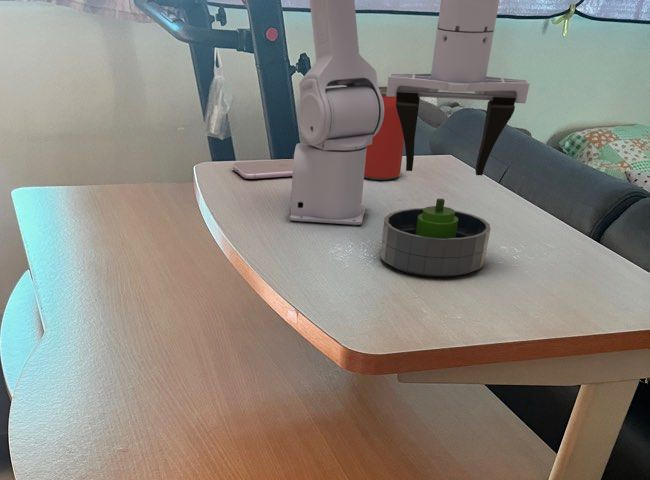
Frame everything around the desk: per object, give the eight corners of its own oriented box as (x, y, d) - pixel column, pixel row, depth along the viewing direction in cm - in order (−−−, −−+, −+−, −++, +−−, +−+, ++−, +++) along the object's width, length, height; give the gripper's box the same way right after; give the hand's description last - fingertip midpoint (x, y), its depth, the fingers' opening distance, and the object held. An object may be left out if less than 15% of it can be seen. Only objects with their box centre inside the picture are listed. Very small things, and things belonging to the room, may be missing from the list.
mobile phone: (230, 161, 131) (318, 155, 135) (230, 168, 132) (317, 162, 135) (245, 173, 125) (336, 167, 129) (245, 180, 126) (336, 173, 130)
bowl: (377, 275, 94) (382, 235, 91) (382, 242, 103) (386, 205, 101) (485, 283, 92) (493, 242, 90) (480, 249, 102) (487, 211, 99)
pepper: (412, 262, 96) (420, 203, 92) (412, 250, 100) (420, 192, 96) (452, 265, 95) (462, 206, 91) (451, 253, 99) (460, 195, 95)
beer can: (358, 169, 133) (365, 85, 125) (399, 171, 132) (409, 86, 125) (356, 180, 127) (364, 92, 120) (400, 182, 127) (410, 94, 119)
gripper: (392, 31, 82) (376, 175, 91) (542, 36, 80) (512, 184, 89) (394, 23, 88) (380, 160, 96) (535, 28, 86) (508, 168, 94)
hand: (443, 171), depth 93 cm, fingers open, 7 cm apart
